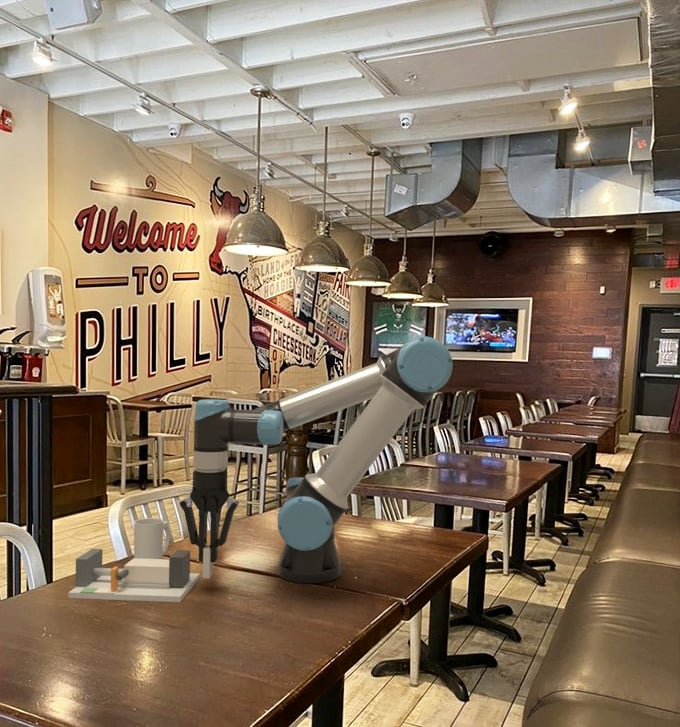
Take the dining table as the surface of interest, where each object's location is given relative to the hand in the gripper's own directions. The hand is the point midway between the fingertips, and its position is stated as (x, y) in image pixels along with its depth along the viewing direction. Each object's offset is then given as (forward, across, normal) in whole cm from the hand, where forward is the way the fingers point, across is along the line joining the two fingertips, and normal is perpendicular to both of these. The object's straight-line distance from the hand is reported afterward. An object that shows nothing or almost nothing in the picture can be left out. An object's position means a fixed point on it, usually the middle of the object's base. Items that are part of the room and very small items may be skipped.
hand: (207, 576), depth 141 cm
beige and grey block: (+2, +11, +2) cm, 12 cm away
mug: (+4, +17, -13) cm, 21 cm away
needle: (+2, +18, +6) cm, 19 cm away
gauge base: (+3, +16, 0) cm, 16 cm away
